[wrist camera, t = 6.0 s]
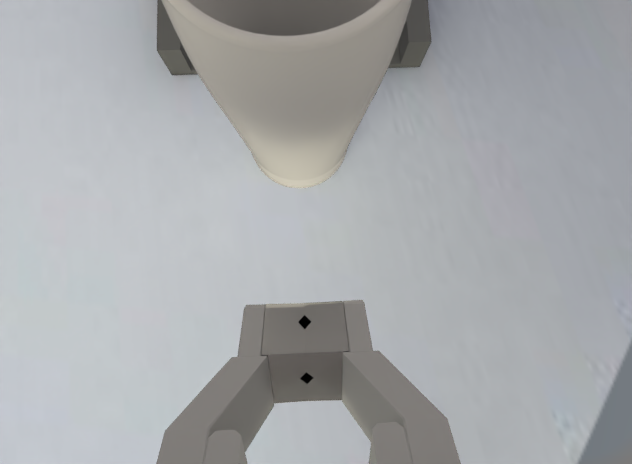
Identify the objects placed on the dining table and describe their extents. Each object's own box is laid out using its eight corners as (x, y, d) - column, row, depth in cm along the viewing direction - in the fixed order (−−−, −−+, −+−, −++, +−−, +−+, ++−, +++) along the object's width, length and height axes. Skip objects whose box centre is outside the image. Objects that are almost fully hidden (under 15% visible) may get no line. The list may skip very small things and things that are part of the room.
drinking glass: (240, 89, 25) (139, -219, 10) (358, 89, 25) (428, -215, 10) (238, 204, 24) (122, 49, 9) (360, 203, 24) (443, 50, 9)
